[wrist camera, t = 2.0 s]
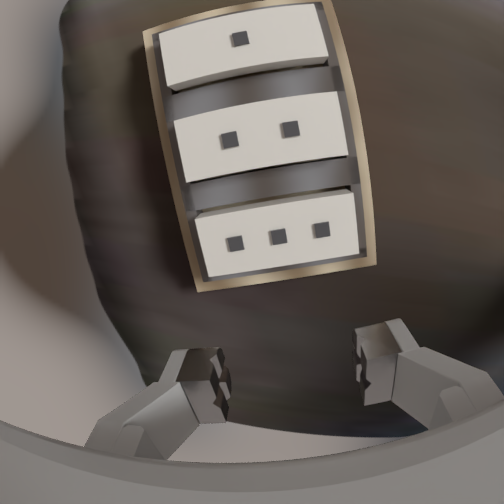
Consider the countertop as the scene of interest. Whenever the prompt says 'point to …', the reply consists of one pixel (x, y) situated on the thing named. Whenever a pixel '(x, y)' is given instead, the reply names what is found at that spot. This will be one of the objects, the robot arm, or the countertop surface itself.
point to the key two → (261, 135)
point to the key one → (242, 45)
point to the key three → (278, 232)
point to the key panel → (272, 177)
